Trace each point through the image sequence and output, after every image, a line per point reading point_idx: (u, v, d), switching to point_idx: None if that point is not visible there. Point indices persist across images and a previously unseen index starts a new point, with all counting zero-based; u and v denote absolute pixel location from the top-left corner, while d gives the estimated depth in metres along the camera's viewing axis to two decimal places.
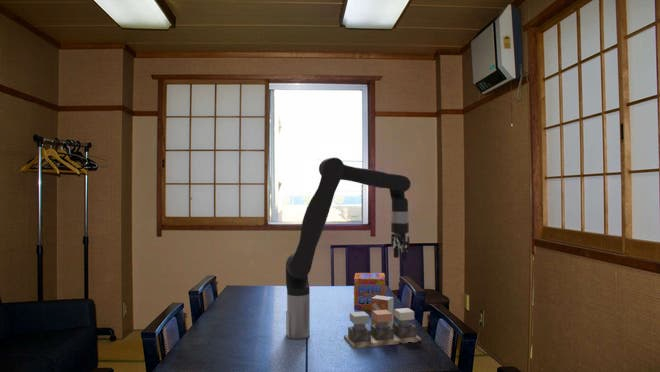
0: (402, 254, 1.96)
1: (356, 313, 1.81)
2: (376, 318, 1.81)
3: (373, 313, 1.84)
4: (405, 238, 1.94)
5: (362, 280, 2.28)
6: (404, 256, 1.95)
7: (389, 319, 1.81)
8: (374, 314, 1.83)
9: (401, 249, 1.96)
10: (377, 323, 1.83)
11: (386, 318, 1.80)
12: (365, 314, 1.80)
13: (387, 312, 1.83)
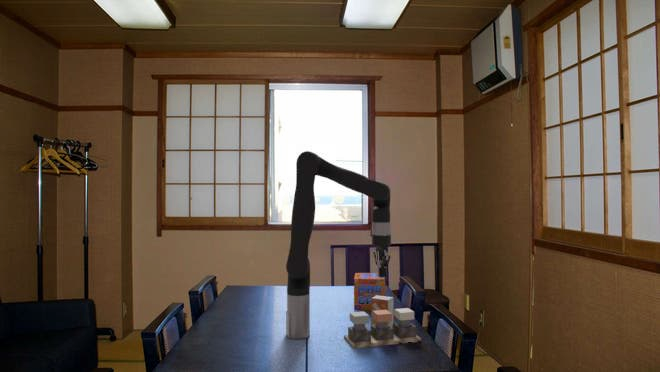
0: (380, 270, 1.82)
1: (356, 313, 1.81)
2: (376, 318, 1.81)
3: (373, 313, 1.84)
4: (386, 258, 1.77)
5: (362, 280, 2.28)
6: (382, 272, 1.82)
7: (389, 319, 1.81)
8: (374, 314, 1.83)
9: (379, 265, 1.82)
10: (377, 323, 1.83)
11: (386, 318, 1.80)
12: (365, 314, 1.80)
13: (387, 312, 1.83)
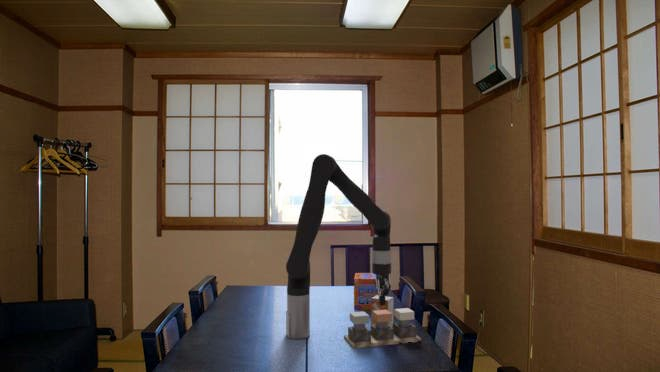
0: (380, 298, 1.82)
1: (356, 313, 1.81)
2: (376, 318, 1.81)
3: (373, 313, 1.84)
4: (386, 287, 1.77)
5: (362, 280, 2.28)
6: (382, 301, 1.82)
7: (389, 319, 1.81)
8: (374, 314, 1.83)
9: (379, 293, 1.82)
10: (377, 323, 1.83)
11: (386, 318, 1.80)
12: (365, 314, 1.80)
13: (387, 312, 1.83)
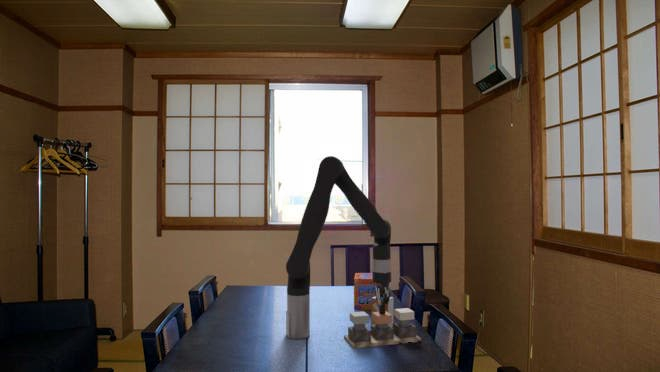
0: (380, 307, 1.82)
1: (356, 313, 1.81)
2: (376, 319, 1.81)
3: (373, 315, 1.84)
4: (386, 296, 1.77)
5: (362, 280, 2.28)
6: (382, 309, 1.82)
7: (389, 321, 1.81)
8: (374, 316, 1.83)
9: (379, 301, 1.82)
10: (377, 325, 1.83)
11: (386, 319, 1.80)
12: (365, 314, 1.80)
13: (387, 314, 1.83)
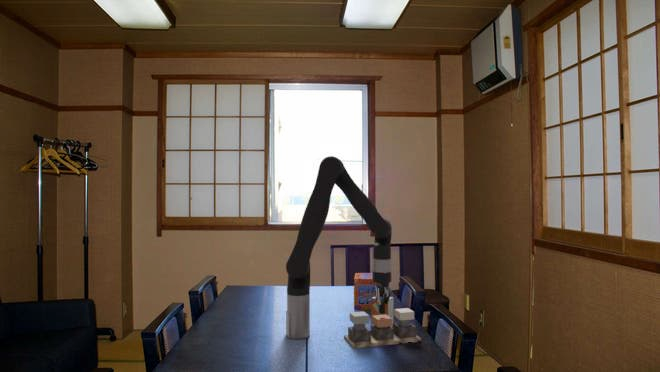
0: (380, 307, 1.82)
1: (356, 313, 1.81)
2: (376, 323, 1.81)
3: (373, 318, 1.84)
4: (386, 296, 1.77)
5: (362, 280, 2.28)
6: (382, 309, 1.82)
7: (389, 324, 1.81)
8: (374, 319, 1.83)
9: (379, 301, 1.82)
10: None
11: (386, 323, 1.80)
12: (365, 314, 1.80)
13: (387, 317, 1.83)
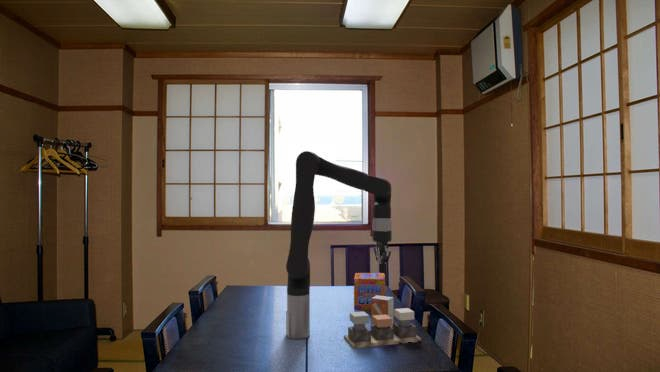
0: (380, 266, 1.82)
1: (356, 313, 1.81)
2: (376, 323, 1.81)
3: (373, 318, 1.84)
4: (386, 254, 1.77)
5: (362, 280, 2.28)
6: (382, 268, 1.82)
7: (389, 324, 1.81)
8: (374, 319, 1.83)
9: (379, 260, 1.82)
10: None
11: (386, 323, 1.80)
12: (365, 314, 1.80)
13: (387, 317, 1.83)
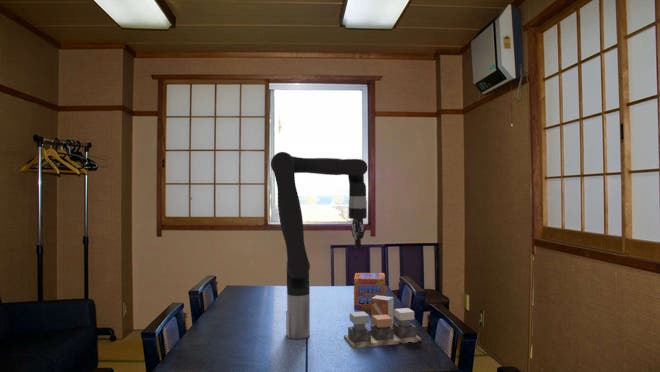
0: (356, 242, 1.92)
1: (356, 313, 1.81)
2: (376, 323, 1.81)
3: (373, 318, 1.84)
4: (361, 229, 1.87)
5: (362, 280, 2.28)
6: (358, 244, 1.92)
7: (389, 324, 1.81)
8: (374, 319, 1.83)
9: (355, 236, 1.92)
10: None
11: (386, 323, 1.80)
12: (365, 314, 1.80)
13: (387, 317, 1.83)
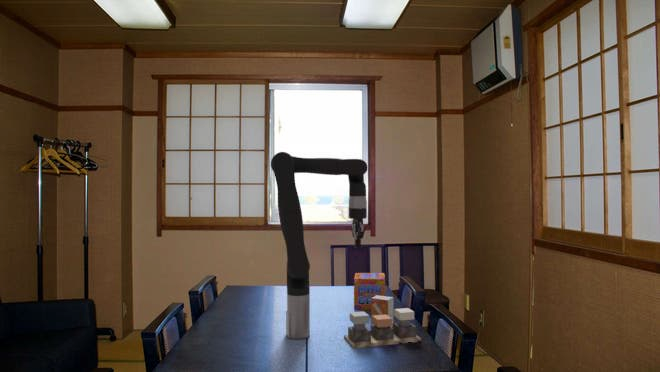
0: (356, 242, 1.92)
1: (356, 313, 1.81)
2: (376, 323, 1.81)
3: (373, 318, 1.84)
4: (361, 229, 1.87)
5: (362, 280, 2.28)
6: (358, 244, 1.92)
7: (389, 324, 1.81)
8: (374, 319, 1.83)
9: (355, 236, 1.92)
10: None
11: (386, 323, 1.80)
12: (365, 314, 1.80)
13: (387, 317, 1.83)
